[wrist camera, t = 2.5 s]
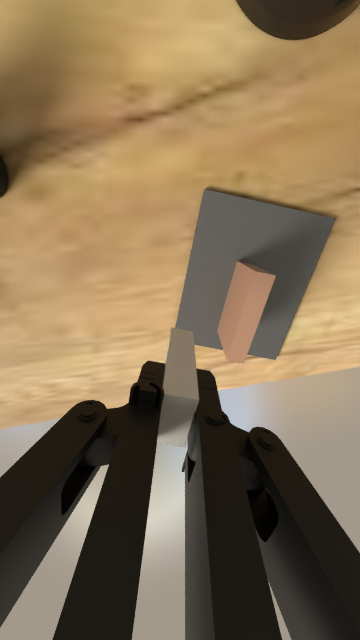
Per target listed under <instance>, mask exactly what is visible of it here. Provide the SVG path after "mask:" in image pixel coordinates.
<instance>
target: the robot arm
mask: <svg viewBox="0 0 360 640" xmlns="http://www.w3.org/2000/svg"><path fill="white" fill-rule="evenodd" d="M236 1H237V3H238V5H239V6H240V8H241V9H242V11H243V12H244V14H245V15H246V16H247V17H248V19H249V20H250V21H251V22H252V23H253V24H254V25H256V26H257V27H258V28H259V29H261V30H262V31H264V32H265V33H267V34H269V35H271V36H274V37H277V38H280V39H286V40H300V39H306V38H310V37H313V36H316V35H319V34H321V33H323V32H325V31H327V30H329V29H330V28H332V27H334V26H335V25H336V24H338V23H339V22H341V21H342V20H343V19H344V18H345V17H347V16H348V15H349V14H350V13H351V12H352V11H353V10H354V9H355V8H356V7H357V6H358V5H359V3H360V0H236ZM187 440H188V450H187V453H186V457H185V460H184V463H183V467H182V472H184V471H185V640H282V638H281V634H280V629H279V625H278V621H277V616H276V612H275V608H274V604H273V600H272V596H271V591H270V587H269V584H268V581H269V583H270V586H271V588H272V591H273V593H274V596H275V598H276V601H277V604H278V606H279V608H280V611H281V614H282V616H283V619H284V621H285V624H286V627H287V629H288V631H289V634H290V637H291V639H292V640H360V553H359V551H358V550H357V549H356V547H355V546H354V544H353V543H352V541H351V540H350V538H349V537H348V536H347V534H346V533H345V531H344V530H343V528H342V527H341V526H340V524H339V523H338V521H337V520H336V518H335V517H334V516H333V514H332V513H331V511H330V510H329V509H328V507H327V506H326V504H325V503H324V501H323V500H322V499H321V497H320V496H319V494H318V493H317V491H316V490H315V488H314V487H313V486H312V484H311V483H310V481H309V480H308V479H307V477H306V476H305V474H304V473H303V471H302V470H301V468H300V467H299V466H298V464H297V463H296V461H295V460H294V459H293V457H292V456H291V454H290V453H289V451H288V450H287V448H286V447H285V446H284V444H283V443H282V442H281V440H280V439H279V438H278V437H277V435H275V434H274V433H273V432H271V431H270V430H268V429H265V428H263V427H255V428H252V430H251V431H250V432H246V431H244V430H242V429H240V428H237V427H236V426H234V425H232V424H231V423H230V421H229V419H228V416H227V415H226V414H225V413H224V412H223V411H222V409H221V405H220V400H219V395H218V391H217V385H216V381H215V377H214V376H213V374H212V373H211V372H210V371H207V370H201V369H196V360H195V349H194V337H193V332H192V331H187V330H182V329H176V328H171V332H170V337H169V342H168V347H167V352H166V357H165V362H164V363H158V362H153V361H147V362H146V363H145V364H144V365H143V366H142V369H141V373H140V376H139V379H138V382H136V383H134V384H133V386H132V387H131V391H130V398H129V403H128V404H126V405H124V406H122V407H118V408H111V409H107V408H106V407H105V405H104V404H103V403H101V402H99V401H95V400H87V401H83V402H80V403H78V404H76V405H75V406H74V407H72V408H71V409H70V410H69V411H68V412H67V413H66V414H65V415H64V416H63V417H62V418H61V419H60V420H59V421H58V422H57V423H56V424H55V425H54V426H53V427H52V428H51V429H50V430H49V431H48V432H47V433H46V434H45V435H44V436H43V437H42V438H41V439H40V440H38V442H36V443H35V444H34V445H33V446H32V447H31V448H30V449H29V450H28V451H27V452H26V453H25V454H24V455H23V456H22V457H21V458H20V459H19V460H18V461H17V462H16V463H15V464H14V465H13V466H12V467H11V468H10V469H9V470H8V471H7V472H6V473H5V474H4V475H2V476H1V478H0V627H1V626H2V624H3V622H4V621H5V619H6V618H7V616H8V614H9V612H10V611H11V610H12V608H13V606H14V605H15V603H16V601H17V600H18V598H19V597H20V595H21V593H22V592H23V590H24V589H25V587H26V585H27V584H28V582H29V580H30V579H31V577H32V576H33V574H34V573H35V571H36V569H37V568H38V566H39V565H40V563H41V561H42V560H43V558H44V557H45V555H46V553H47V552H48V550H49V549H50V547H51V545H52V544H53V542H54V541H55V539H56V537H57V536H58V534H59V533H60V531H61V529H62V528H63V526H64V525H65V523H66V521H67V520H68V518H69V517H70V515H71V513H72V512H73V510H74V509H75V507H76V505H77V504H78V502H79V501H80V499H81V497H82V496H83V494H84V493H85V491H86V489H87V488H88V486H89V484H90V483H91V481H92V480H93V478H94V477H95V475H96V473H97V472H98V470H99V468H100V467H101V466H103V465H108V464H109V467H108V470H107V473H106V476H105V479H104V482H103V485H102V488H101V492H100V494H99V498H98V501H97V504H96V507H95V510H94V513H93V516H92V519H91V522H90V526H89V528H88V532H87V535H86V538H85V541H84V544H83V547H82V550H81V553H80V556H79V560H78V563H77V566H76V569H75V572H74V575H73V578H72V581H71V584H70V587H69V591H68V594H67V597H66V600H65V603H64V607H63V609H62V612H61V615H60V618H59V622H58V625H57V628H56V631H55V634H54V637H53V640H132V632H133V624H134V617H135V609H136V602H137V601H136V600H137V594H138V585H139V578H140V570H141V563H142V555H143V547H144V539H145V531H146V524H147V516H148V507H149V500H150V492H151V485H152V477H153V469H154V460H155V453H156V445H157V443H161V444H167V445H174V446H180V447H186V443H187ZM267 578H268V579H267Z"/></svg>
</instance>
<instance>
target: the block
mask: <svg viewBox="0 0 360 640" xmlns="http://www.w3.org/2000/svg"><path fill="white" fill-rule="evenodd" d="M275 277H276V275H274V274H272V273H269V272H267V271H265V270H263V269H261V268H259V267H257V266H255V265H253V264H249V263H244V262H240V261H237V263H236V267H235V270H234V273H233V277H232V280H231V284H230V287H229V291H228V294H227V298H226V301H225V304H224V308H223V311H222V315H221V318H220V322H219V325H218V329H217V332H218V335H219V338H220V341H221V344H222V347H223V350H224V354H225V357H226V360H228V361H234V362H239V363H244V362H245V359H246V356H247V354H248V351H249V348H250V345H251V343H252V340H253V337H254V334H255V332H256V329H257V326H258V324H259V321H260V318H261V315H262V313H263V310H264V307H265V304H266V302H267V299H268V296H269V293H270V291H271V288H272V285H273V282H274V280H275Z"/></svg>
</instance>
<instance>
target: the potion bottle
mask: <svg viewBox="0 0 360 640" xmlns="http://www.w3.org/2000/svg"><path fill="white" fill-rule="evenodd" d="M7 181H8V177H7V171H6V166H5V164H4V162H3V160H2V158H1V156H0V197H1V196H2V194H3V193H4V192H5V190H6V186H7Z"/></svg>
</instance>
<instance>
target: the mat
mask: <svg viewBox="0 0 360 640" xmlns="http://www.w3.org/2000/svg"><path fill="white" fill-rule="evenodd" d="M334 221H335V218H331V217H326V216H322V215H317V214H313V213H308V212H304V211H300V210H295V209H291V208H286V207H282V206H277V205H273V204H268V203H264V202H260V201H255V200H251V199H246V198H242V197H237V196H233V195H228V194H224V193H220V192H215V191H211V190H206V189H204V193H203V198H202V202H201V207H200V212H199V217H198V222H197V226H196V231H195V236H194V241H193V246H192V250H191V255H190V260H189V265H188V270H187V274H186V279H185V284H184V289H183V294H182V298H181V303H180V308H179V313H178V318H177V322H176V327H175V328H176V329H182V330H187V331H192V332H193V337H194V345H199V346H205V347H210V348H215V349H221V350H223V347H222V344H221V341H220V338H219V335H218V332H217V329H218V325H219V322H220V318H221V315H222V311H223V308H224V304H225V301H226V298H227V294H228V291H229V287H230V284H231V280H232V277H233V273H234V270H235V267H236V263H237V261H240V262H244V263H249V264H253V265H255V266H257V267H259V268H261V269H263V270H265V271H267V272H269V273H272V274H274V275H276V277H275V280H274V282H273V285H272V288H271V291H270V293H269V296H268V299H267V302H266V304H265V307H264V310H263V313H262V315H261V318H260V321H259V324H258V326H257V329H256V332H255V334H254V337H253V340H252V343H251V345H250V348H249V351H248V354H247V355H253V356H258V357H263V358H269V359H274V360H276V357H277V355H278V353H279V350H280V348H281V346H282V343H283V341H284V339H285V336H286V334H287V332H288V329H289V327H290V324H291V322H292V320H293V317H294V315H295V313H296V310H297V308H298V306H299V303H300V301H301V299H302V296H303V294H304V292H305V289H306V287H307V285H308V282H309V280H310V278H311V275H312V273H313V271H314V268H315V266H316V264H317V261H318V259H319V257H320V254H321V252H322V250H323V247H324V245H325V243H326V240H327V238H328V236H329V233H330V231H331V228H332V226H333V224H334Z"/></svg>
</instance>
